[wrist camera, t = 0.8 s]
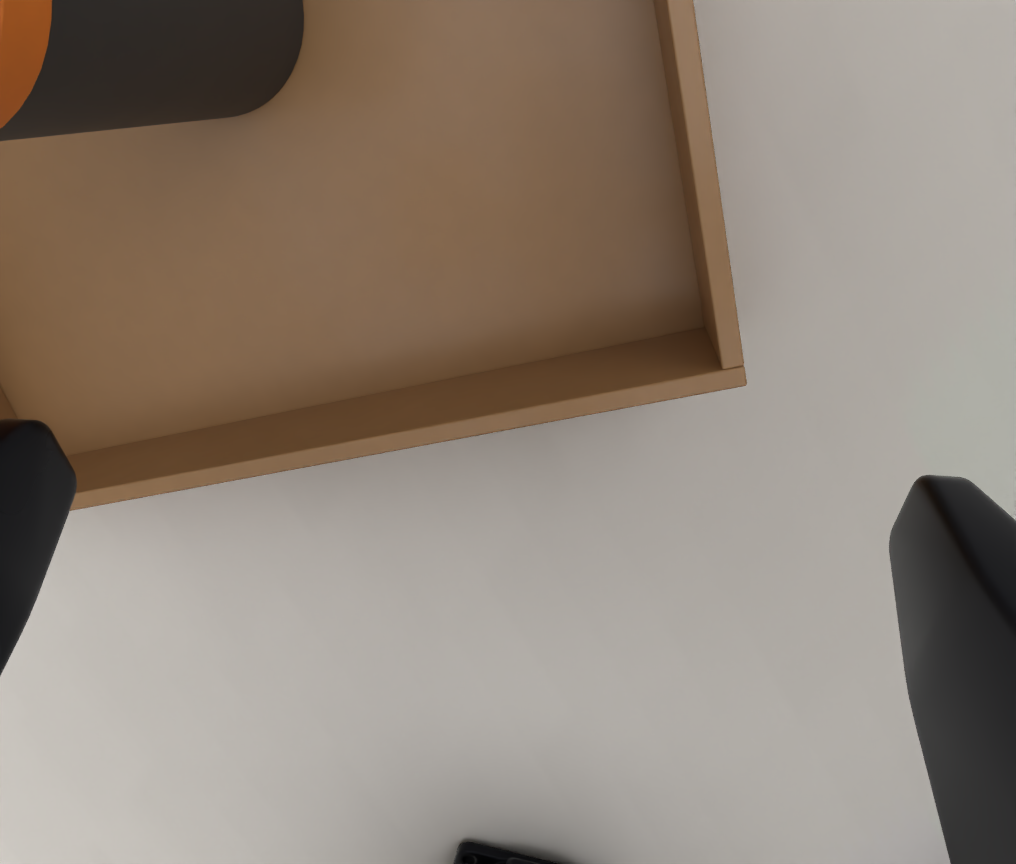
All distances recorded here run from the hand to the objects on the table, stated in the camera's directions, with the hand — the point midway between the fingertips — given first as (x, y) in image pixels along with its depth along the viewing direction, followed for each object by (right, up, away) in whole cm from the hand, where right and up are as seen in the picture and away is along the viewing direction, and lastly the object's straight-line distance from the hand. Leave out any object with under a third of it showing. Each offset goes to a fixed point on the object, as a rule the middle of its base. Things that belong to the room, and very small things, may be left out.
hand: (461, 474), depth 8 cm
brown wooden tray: (-6, +8, +12) cm, 16 cm away
